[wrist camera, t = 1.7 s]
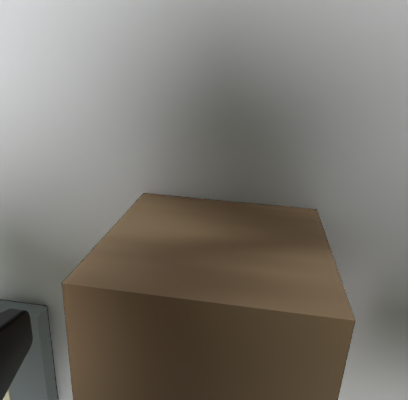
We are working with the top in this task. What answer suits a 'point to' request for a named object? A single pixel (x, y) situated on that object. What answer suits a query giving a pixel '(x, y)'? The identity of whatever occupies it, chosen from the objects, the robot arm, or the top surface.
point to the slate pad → (34, 359)
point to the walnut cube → (208, 305)
